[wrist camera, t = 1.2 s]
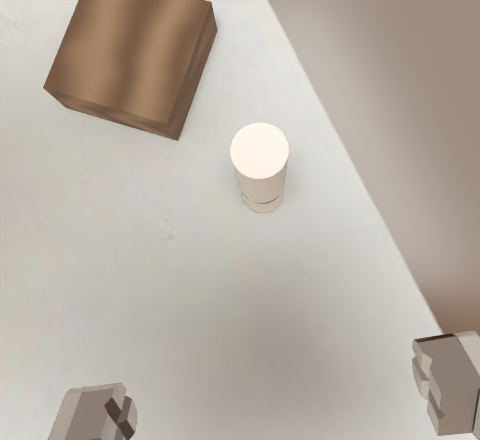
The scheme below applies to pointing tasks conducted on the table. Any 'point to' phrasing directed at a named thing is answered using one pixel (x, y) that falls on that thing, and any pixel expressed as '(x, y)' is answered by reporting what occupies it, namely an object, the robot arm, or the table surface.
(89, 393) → the robot arm
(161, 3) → the walnut stand
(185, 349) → the table surface
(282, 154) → the tube
